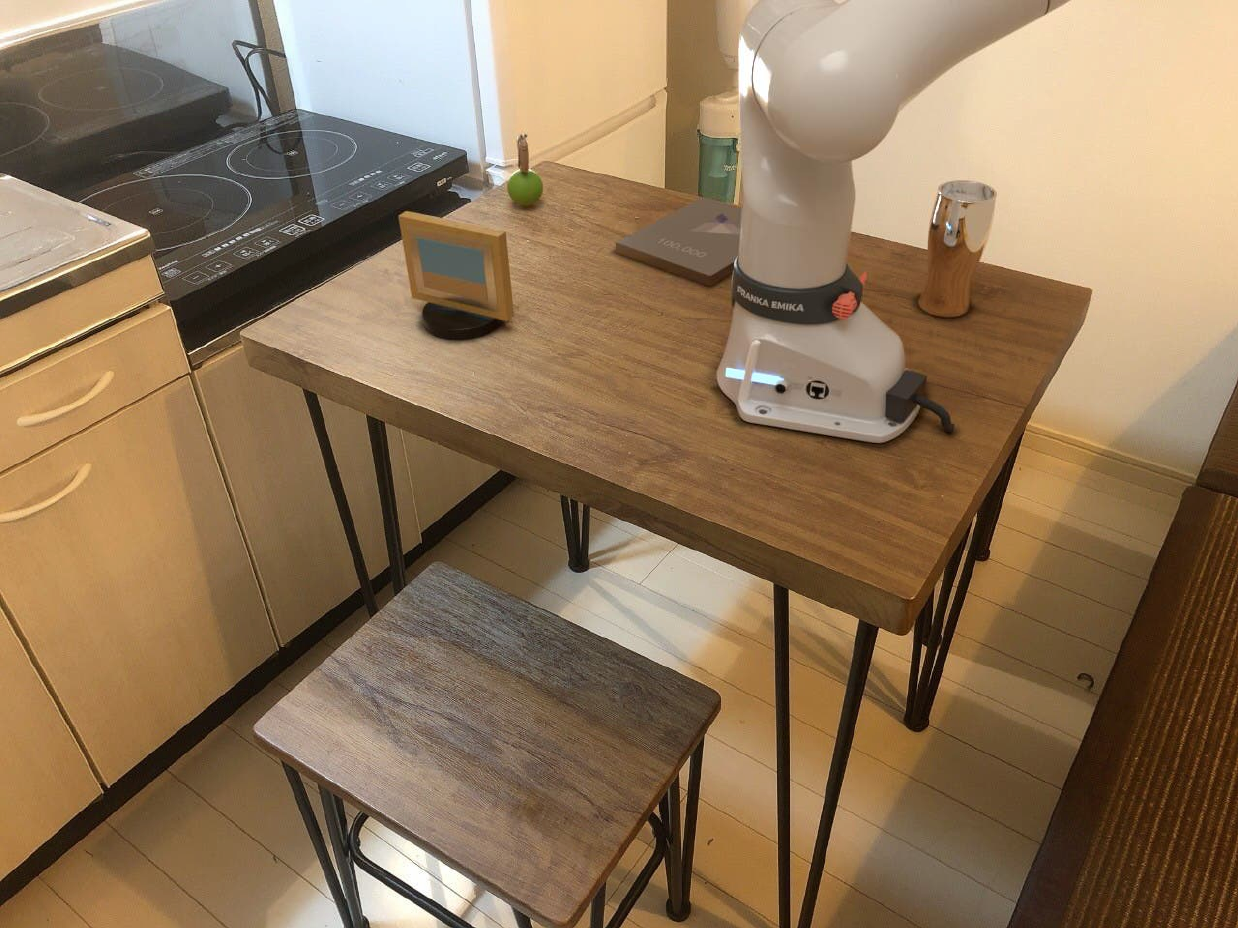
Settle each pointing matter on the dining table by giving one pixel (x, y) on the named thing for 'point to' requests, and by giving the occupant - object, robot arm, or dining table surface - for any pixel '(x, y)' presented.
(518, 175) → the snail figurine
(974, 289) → the dining table surface
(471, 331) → the frame stand
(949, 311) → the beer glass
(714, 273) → the play button award
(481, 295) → the picture frame
